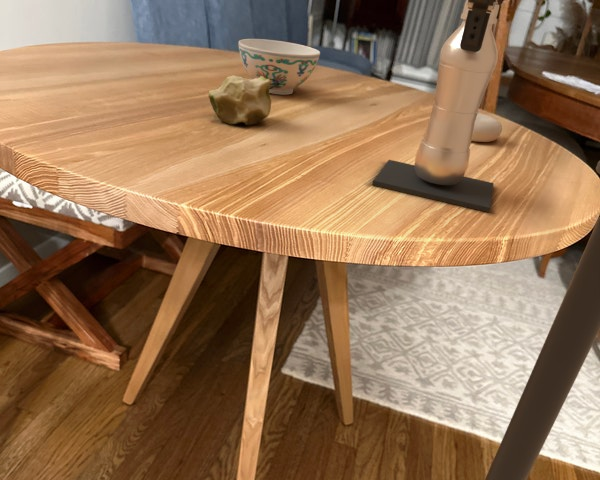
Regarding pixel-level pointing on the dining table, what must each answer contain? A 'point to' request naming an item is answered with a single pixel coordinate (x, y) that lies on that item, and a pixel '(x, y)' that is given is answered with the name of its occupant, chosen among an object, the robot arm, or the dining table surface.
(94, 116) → the dining table surface
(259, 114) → the fruit
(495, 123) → the donut
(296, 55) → the chinaware
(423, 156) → the plastic bottle
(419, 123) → the dining table surface
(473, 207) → the mat
